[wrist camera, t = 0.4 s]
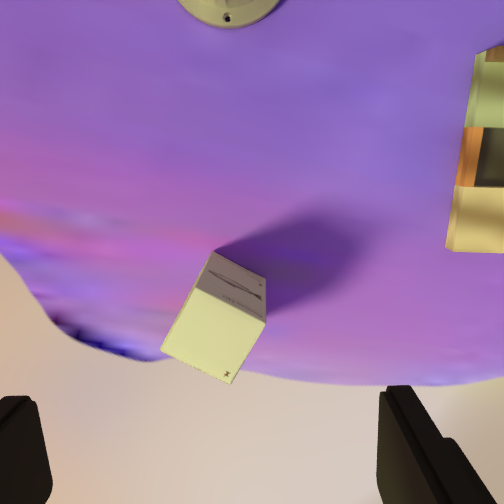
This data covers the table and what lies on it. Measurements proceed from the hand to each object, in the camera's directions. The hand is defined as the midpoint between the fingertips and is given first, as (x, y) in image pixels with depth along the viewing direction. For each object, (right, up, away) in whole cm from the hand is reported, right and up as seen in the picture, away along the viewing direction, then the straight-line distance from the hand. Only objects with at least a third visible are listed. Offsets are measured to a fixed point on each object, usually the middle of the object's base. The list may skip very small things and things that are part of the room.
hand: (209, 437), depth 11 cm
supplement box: (-2, +1, +37) cm, 37 cm away
